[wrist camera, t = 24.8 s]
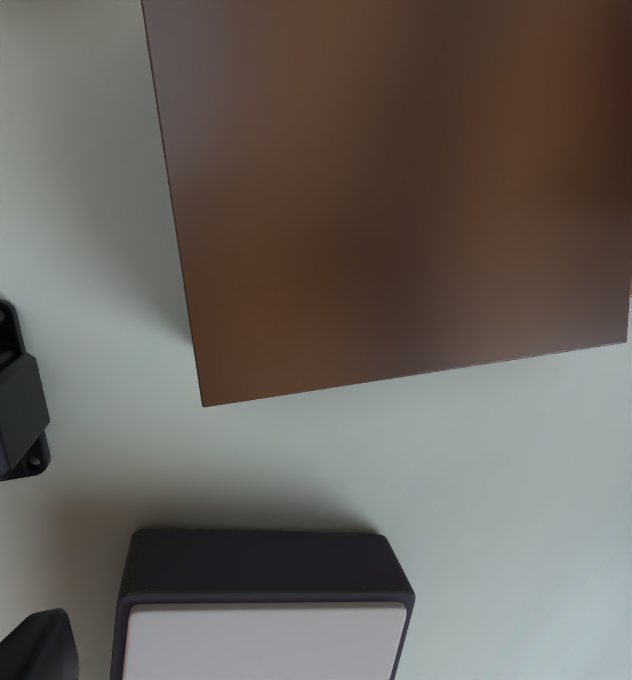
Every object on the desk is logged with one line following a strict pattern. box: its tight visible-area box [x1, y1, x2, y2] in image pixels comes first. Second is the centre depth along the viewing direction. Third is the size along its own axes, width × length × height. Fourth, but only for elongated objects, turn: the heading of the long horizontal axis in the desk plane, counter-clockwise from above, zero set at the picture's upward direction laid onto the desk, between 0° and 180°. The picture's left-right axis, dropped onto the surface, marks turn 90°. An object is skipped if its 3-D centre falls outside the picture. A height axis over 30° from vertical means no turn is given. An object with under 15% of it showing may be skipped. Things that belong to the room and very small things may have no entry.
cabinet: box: [141, 0, 632, 407], centre depth 16 cm, size 13×11×6 cm
